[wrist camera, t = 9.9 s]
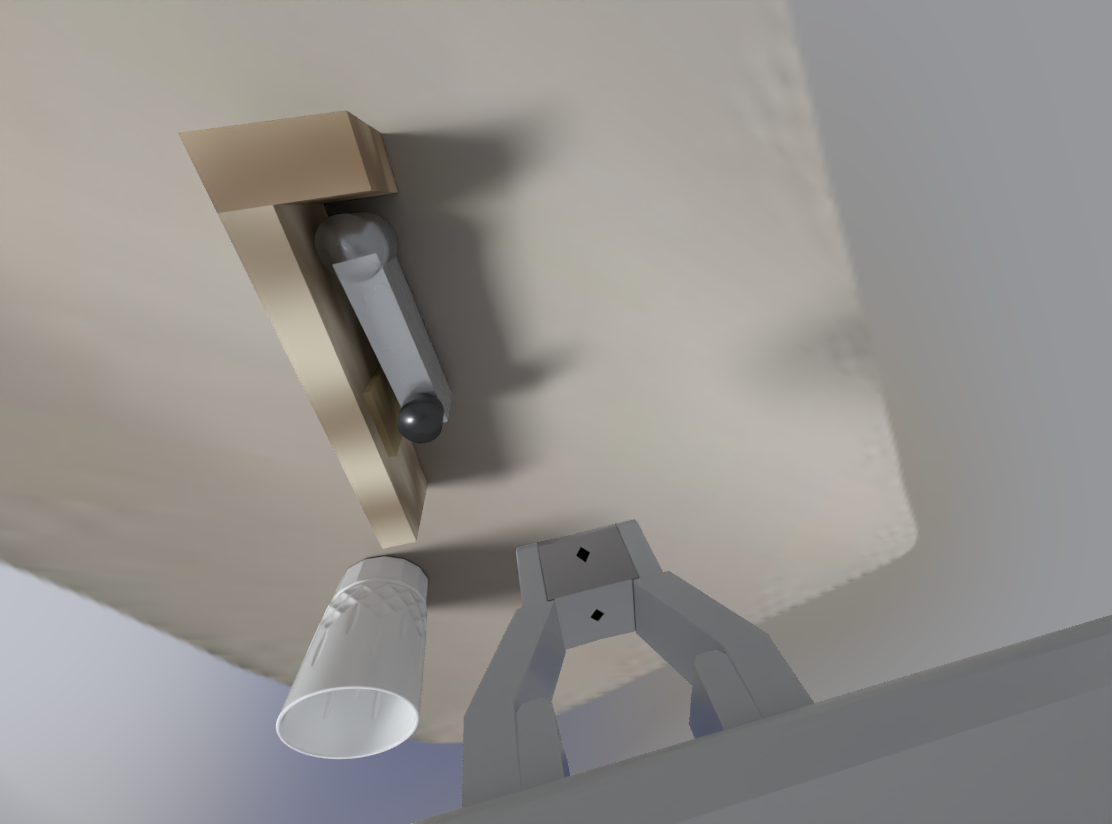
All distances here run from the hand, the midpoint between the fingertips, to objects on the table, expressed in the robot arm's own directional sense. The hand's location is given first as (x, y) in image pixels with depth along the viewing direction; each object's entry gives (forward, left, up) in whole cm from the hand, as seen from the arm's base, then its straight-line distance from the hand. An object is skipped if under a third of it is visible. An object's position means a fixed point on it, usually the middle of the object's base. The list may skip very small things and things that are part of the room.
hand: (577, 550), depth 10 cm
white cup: (+18, -14, -17) cm, 29 cm away
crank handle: (-3, -6, -17) cm, 18 cm away
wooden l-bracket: (-1, -8, -17) cm, 19 cm away
